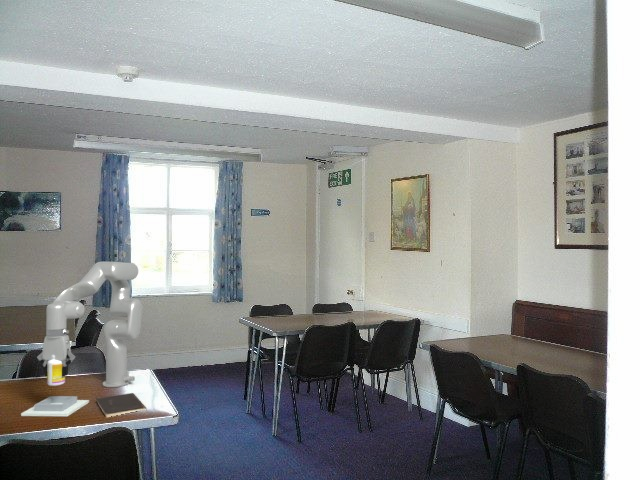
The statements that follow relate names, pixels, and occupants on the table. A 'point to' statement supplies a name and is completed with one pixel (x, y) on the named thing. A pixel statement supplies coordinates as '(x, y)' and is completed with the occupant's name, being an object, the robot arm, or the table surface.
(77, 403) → the holder board
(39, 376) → the table surface
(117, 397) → the hardcover book
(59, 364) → the supplement bottle
